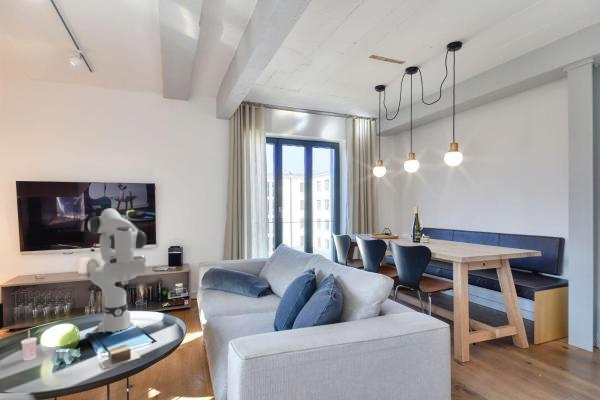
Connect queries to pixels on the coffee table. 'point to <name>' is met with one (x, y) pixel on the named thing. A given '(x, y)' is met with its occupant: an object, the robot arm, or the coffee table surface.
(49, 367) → the coffee table surface
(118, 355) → the block
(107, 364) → the pad
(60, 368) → the coffee table surface
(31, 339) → the beverage cup
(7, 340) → the coffee table surface
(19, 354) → the coffee table surface
